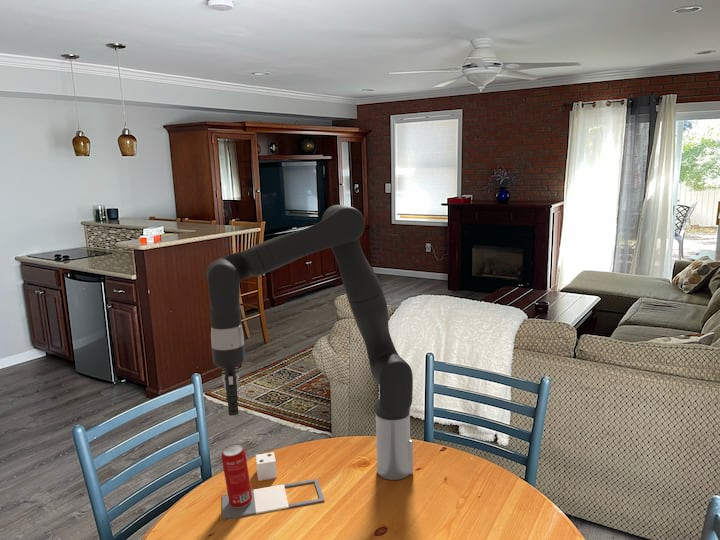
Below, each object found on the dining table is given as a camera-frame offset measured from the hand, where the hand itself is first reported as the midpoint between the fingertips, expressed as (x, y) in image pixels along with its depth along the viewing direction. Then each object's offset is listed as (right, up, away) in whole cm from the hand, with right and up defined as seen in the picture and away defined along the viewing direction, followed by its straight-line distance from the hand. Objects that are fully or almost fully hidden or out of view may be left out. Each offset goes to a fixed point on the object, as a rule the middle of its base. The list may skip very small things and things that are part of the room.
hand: (233, 407), depth 129 cm
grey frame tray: (+8, -25, +6) cm, 27 cm away
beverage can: (0, -25, +5) cm, 26 cm away
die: (+5, -23, +18) cm, 30 cm away
